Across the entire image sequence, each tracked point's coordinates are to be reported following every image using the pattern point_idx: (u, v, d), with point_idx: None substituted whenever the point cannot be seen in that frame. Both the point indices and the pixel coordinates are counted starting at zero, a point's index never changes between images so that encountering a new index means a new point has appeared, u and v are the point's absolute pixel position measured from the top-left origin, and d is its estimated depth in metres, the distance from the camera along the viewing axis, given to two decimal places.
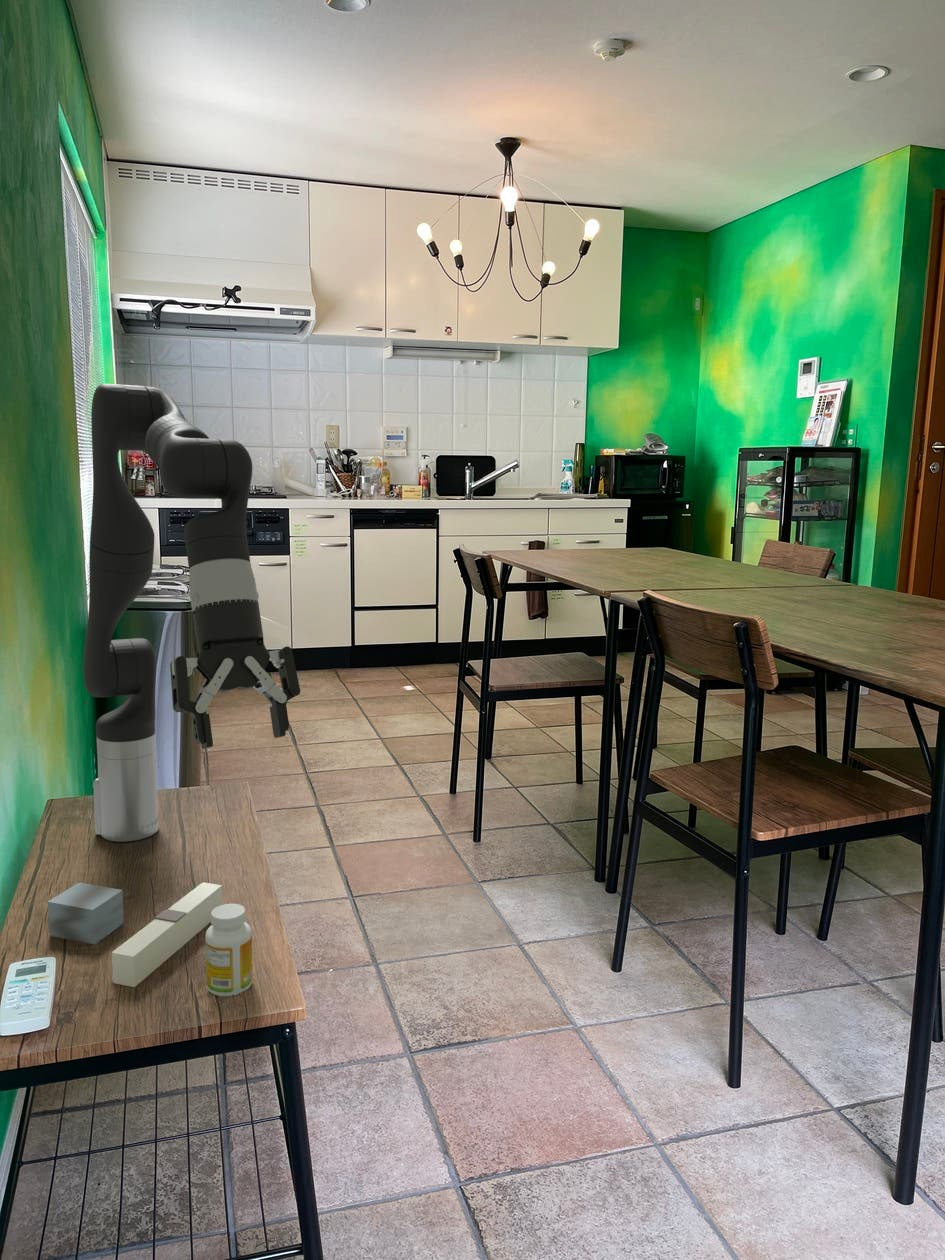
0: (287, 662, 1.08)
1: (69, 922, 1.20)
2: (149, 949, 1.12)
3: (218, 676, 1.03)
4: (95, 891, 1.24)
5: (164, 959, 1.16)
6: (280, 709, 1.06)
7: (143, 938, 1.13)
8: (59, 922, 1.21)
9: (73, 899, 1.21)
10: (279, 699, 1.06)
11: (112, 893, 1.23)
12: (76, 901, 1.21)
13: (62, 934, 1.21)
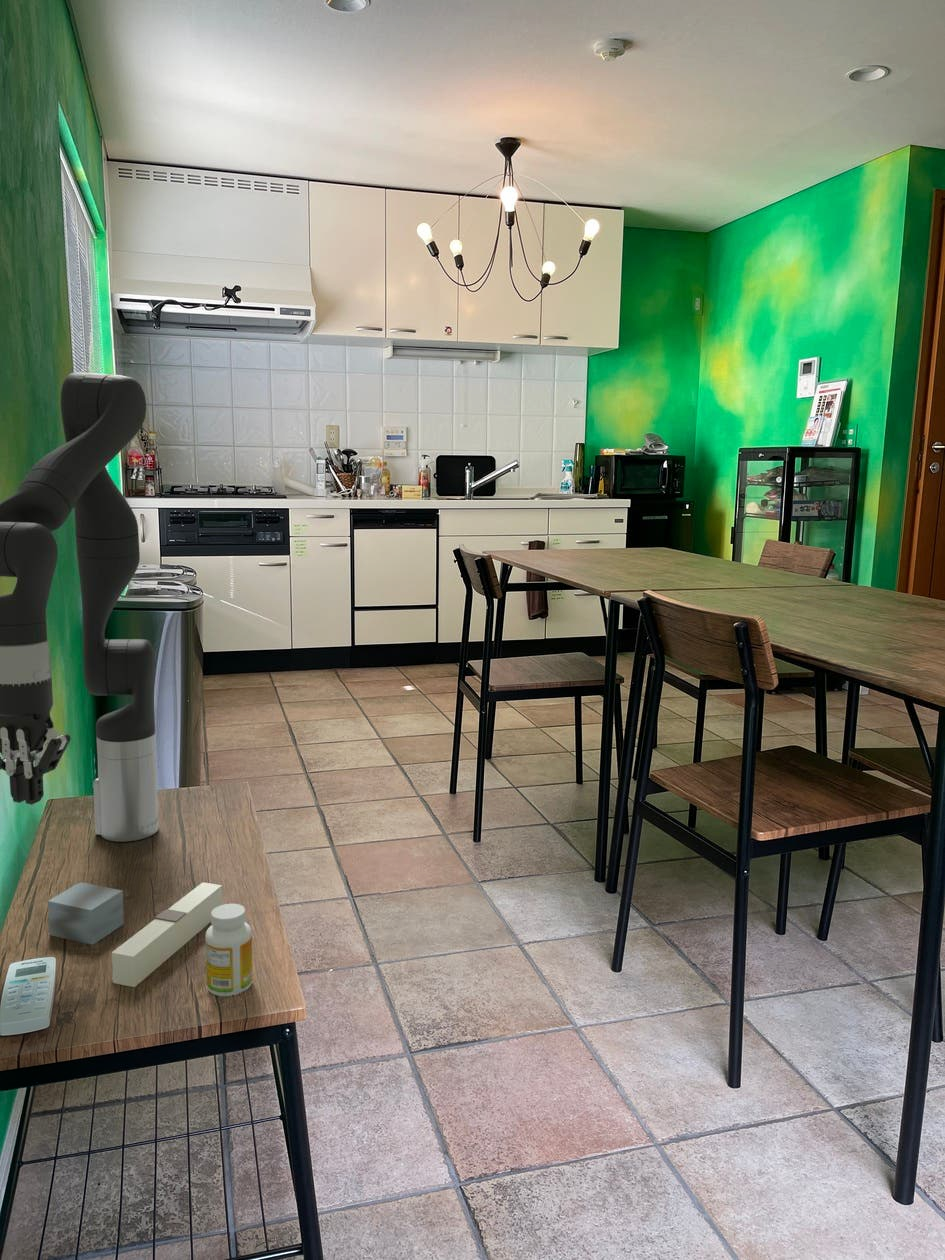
0: (48, 749, 1.19)
1: (68, 922, 1.20)
2: (149, 949, 1.12)
3: (4, 744, 1.20)
4: (95, 891, 1.24)
5: (164, 959, 1.16)
6: (27, 783, 1.21)
7: (143, 938, 1.13)
8: (58, 921, 1.21)
9: (73, 899, 1.21)
10: (26, 774, 1.20)
11: (112, 894, 1.23)
12: (76, 901, 1.21)
13: (62, 934, 1.21)
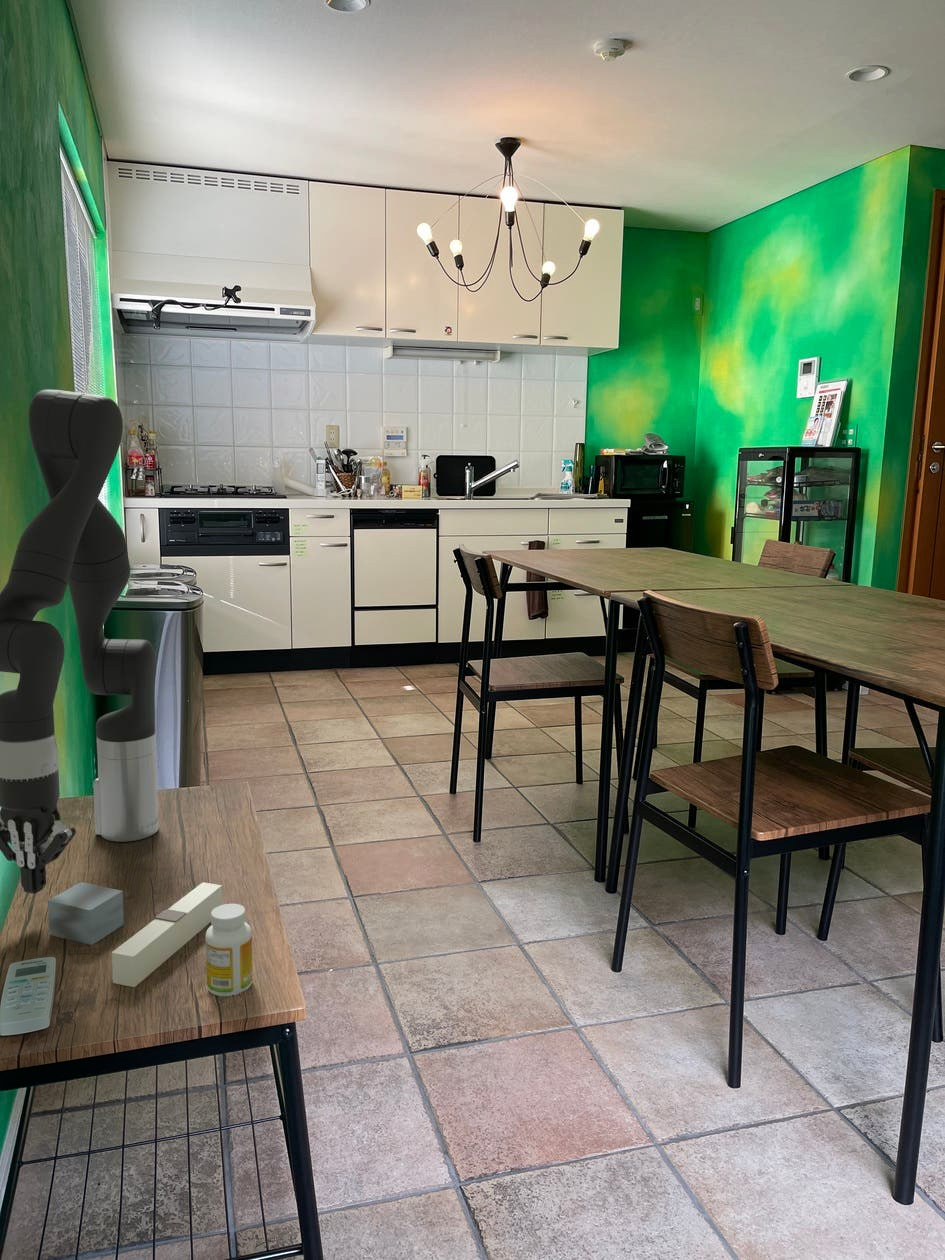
0: (53, 842, 1.21)
1: (68, 922, 1.20)
2: (149, 949, 1.12)
3: (13, 836, 1.22)
4: (95, 891, 1.24)
5: (164, 959, 1.16)
6: (30, 873, 1.23)
7: (143, 938, 1.13)
8: (58, 921, 1.21)
9: (72, 899, 1.21)
10: (29, 865, 1.22)
11: (112, 894, 1.23)
12: (75, 901, 1.21)
13: (61, 933, 1.21)
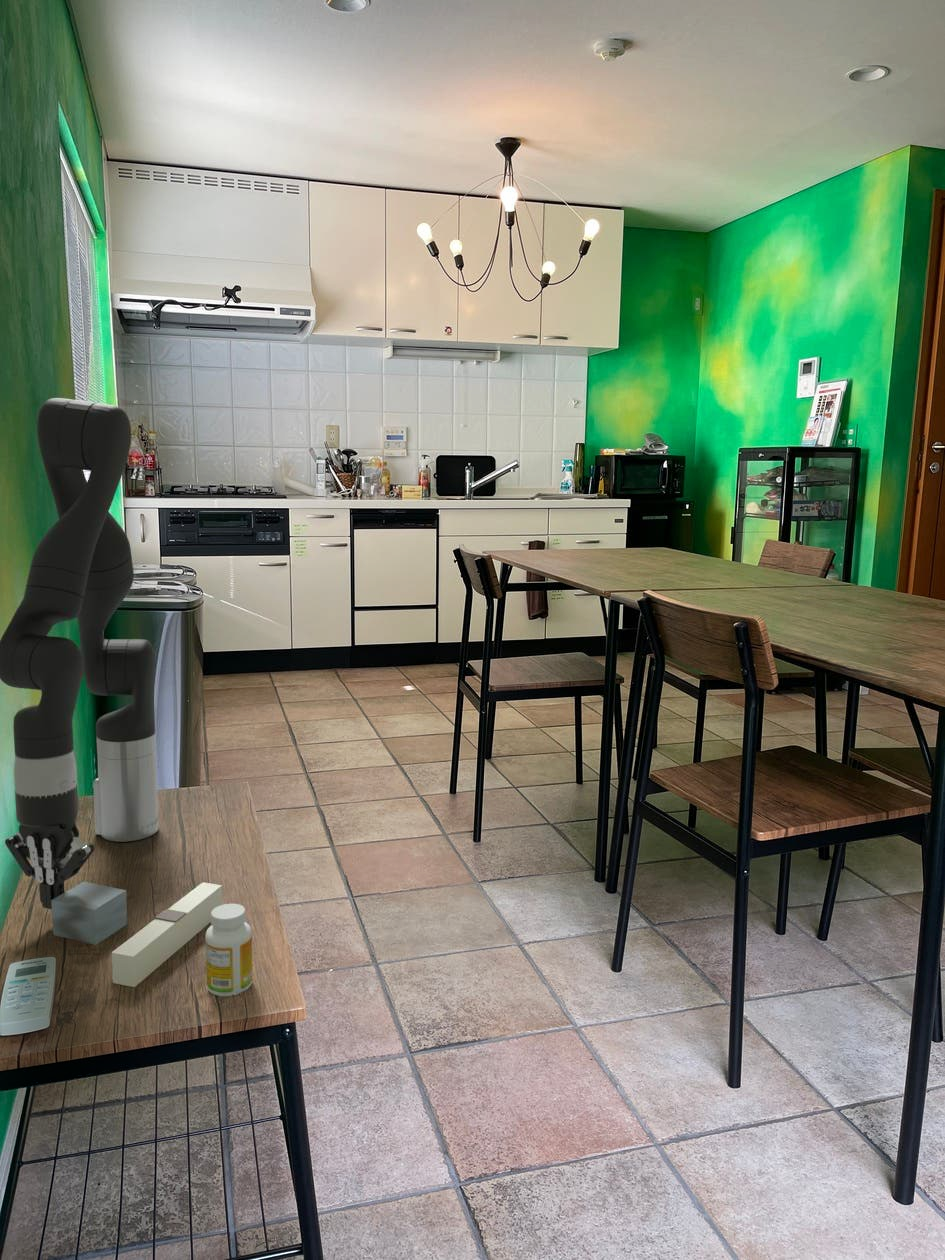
0: (72, 859, 1.20)
1: (72, 922, 1.20)
2: (149, 949, 1.12)
3: (32, 852, 1.21)
4: (98, 891, 1.24)
5: (164, 959, 1.16)
6: (48, 889, 1.22)
7: (143, 938, 1.13)
8: (62, 921, 1.21)
9: (76, 898, 1.21)
10: (47, 881, 1.22)
11: (115, 893, 1.23)
12: (79, 900, 1.21)
13: (65, 933, 1.21)
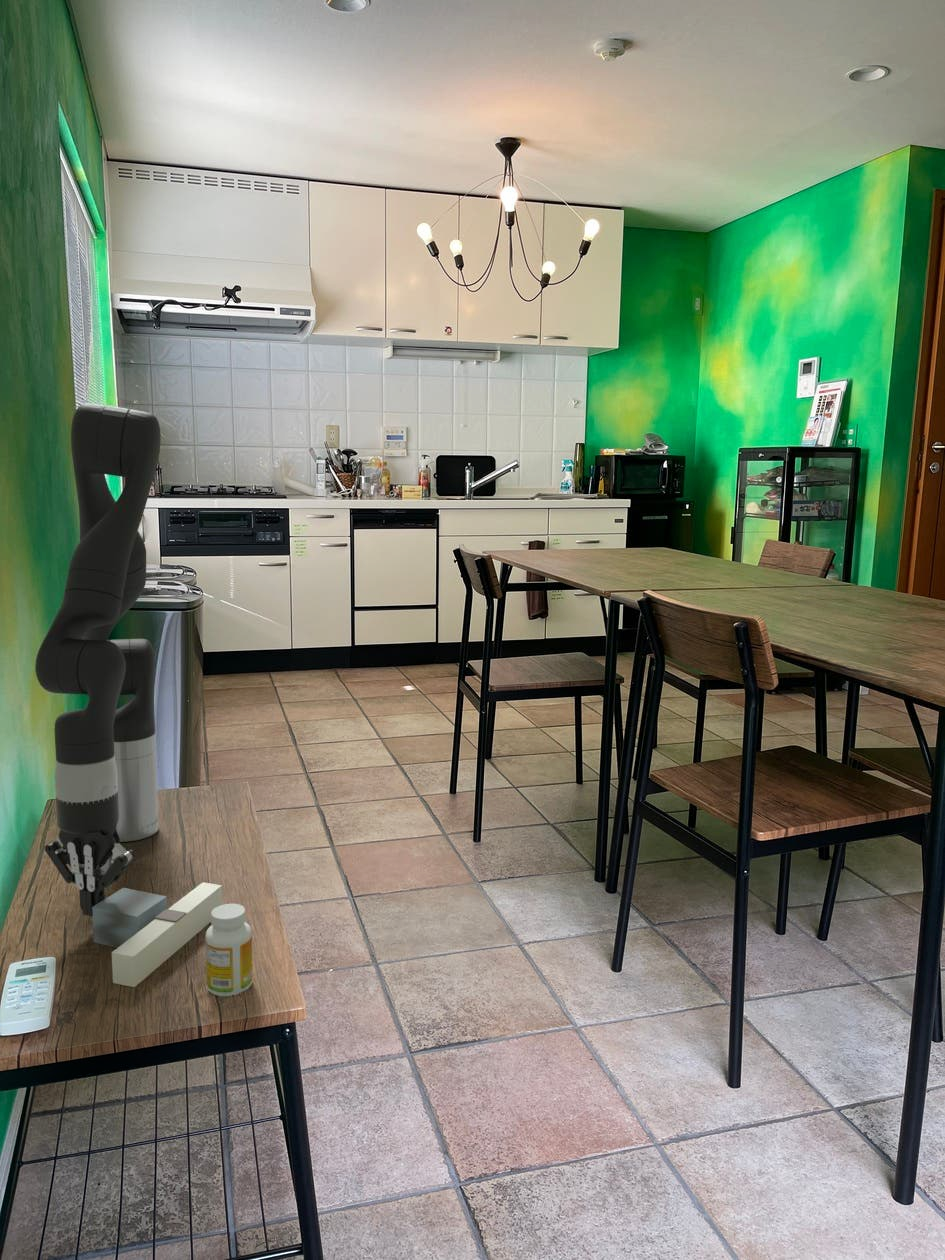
0: (113, 866, 1.19)
1: (113, 929, 1.19)
2: (149, 949, 1.12)
3: (73, 858, 1.20)
4: (139, 897, 1.22)
5: (164, 959, 1.16)
6: (89, 895, 1.21)
7: (143, 938, 1.13)
8: (103, 928, 1.19)
9: (117, 905, 1.20)
10: (88, 888, 1.20)
11: (156, 899, 1.22)
12: (121, 907, 1.19)
13: (106, 940, 1.19)
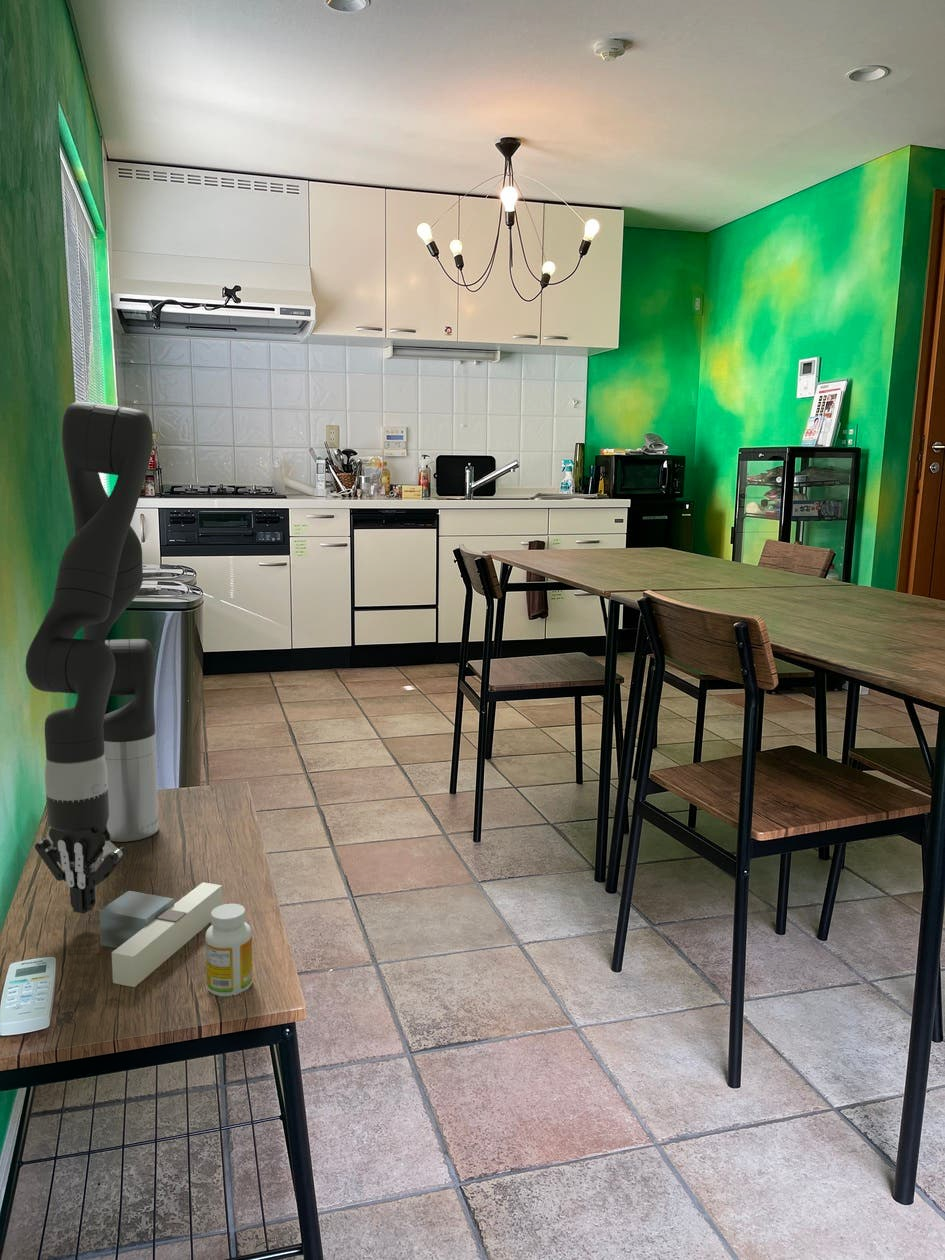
0: (104, 863, 1.20)
1: (121, 932, 1.18)
2: (149, 949, 1.12)
3: (63, 856, 1.21)
4: (146, 900, 1.22)
5: (164, 959, 1.16)
6: (80, 893, 1.22)
7: (143, 938, 1.13)
8: (111, 931, 1.19)
9: (124, 908, 1.19)
10: (79, 885, 1.21)
11: (164, 902, 1.21)
12: (128, 910, 1.19)
13: (114, 943, 1.19)
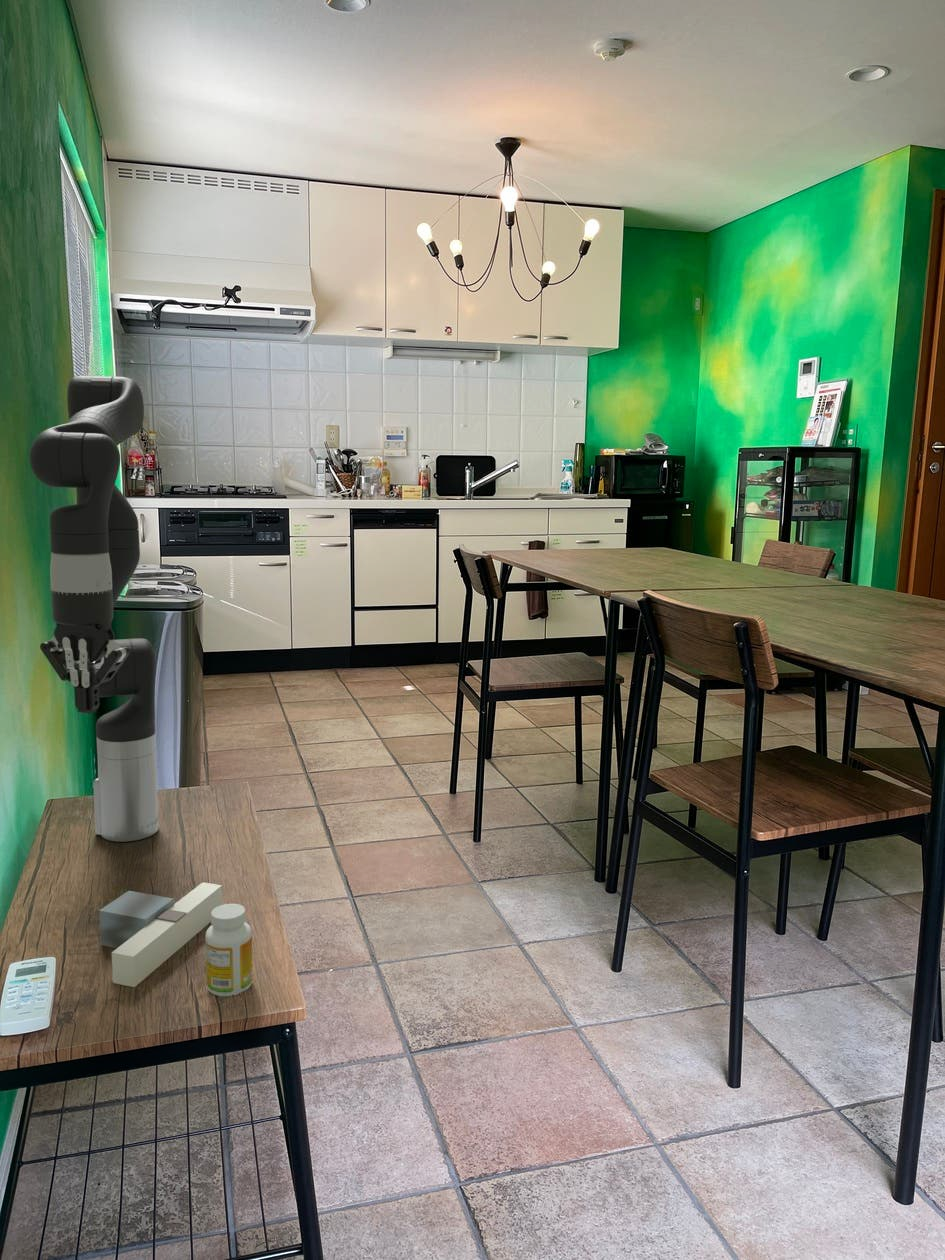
0: (108, 660, 1.21)
1: (121, 932, 1.18)
2: (149, 949, 1.12)
3: (68, 654, 1.22)
4: (146, 900, 1.22)
5: (164, 959, 1.16)
6: (84, 692, 1.23)
7: (143, 938, 1.13)
8: (111, 931, 1.19)
9: (124, 908, 1.19)
10: (83, 684, 1.23)
11: (164, 902, 1.21)
12: (128, 910, 1.19)
13: (114, 943, 1.19)
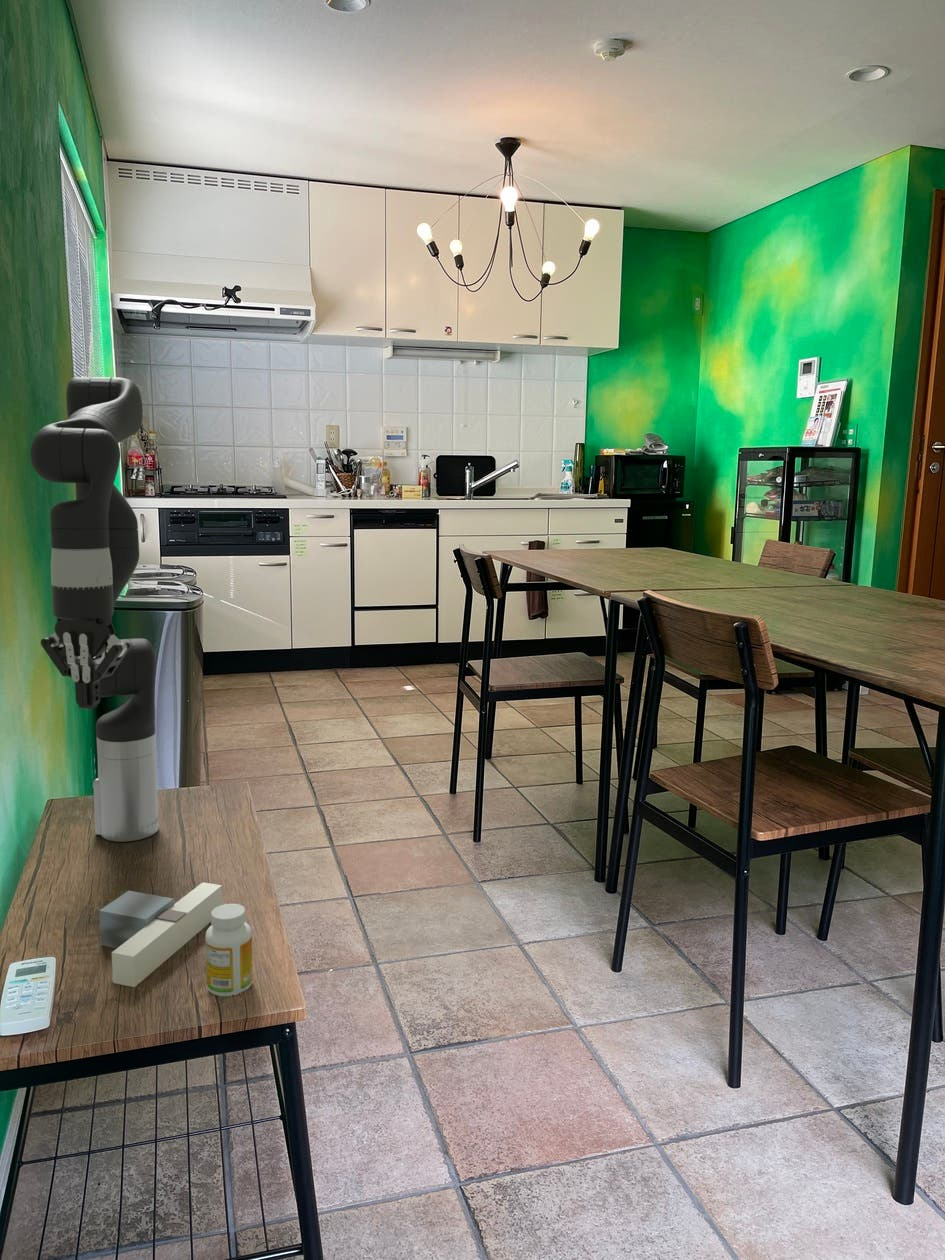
0: (108, 655, 1.21)
1: (121, 932, 1.18)
2: (149, 949, 1.12)
3: (68, 649, 1.22)
4: (146, 900, 1.22)
5: (164, 959, 1.16)
6: (85, 687, 1.23)
7: (143, 938, 1.13)
8: (111, 931, 1.19)
9: (124, 908, 1.19)
10: (84, 679, 1.23)
11: (164, 902, 1.21)
12: (128, 910, 1.19)
13: (114, 944, 1.19)
